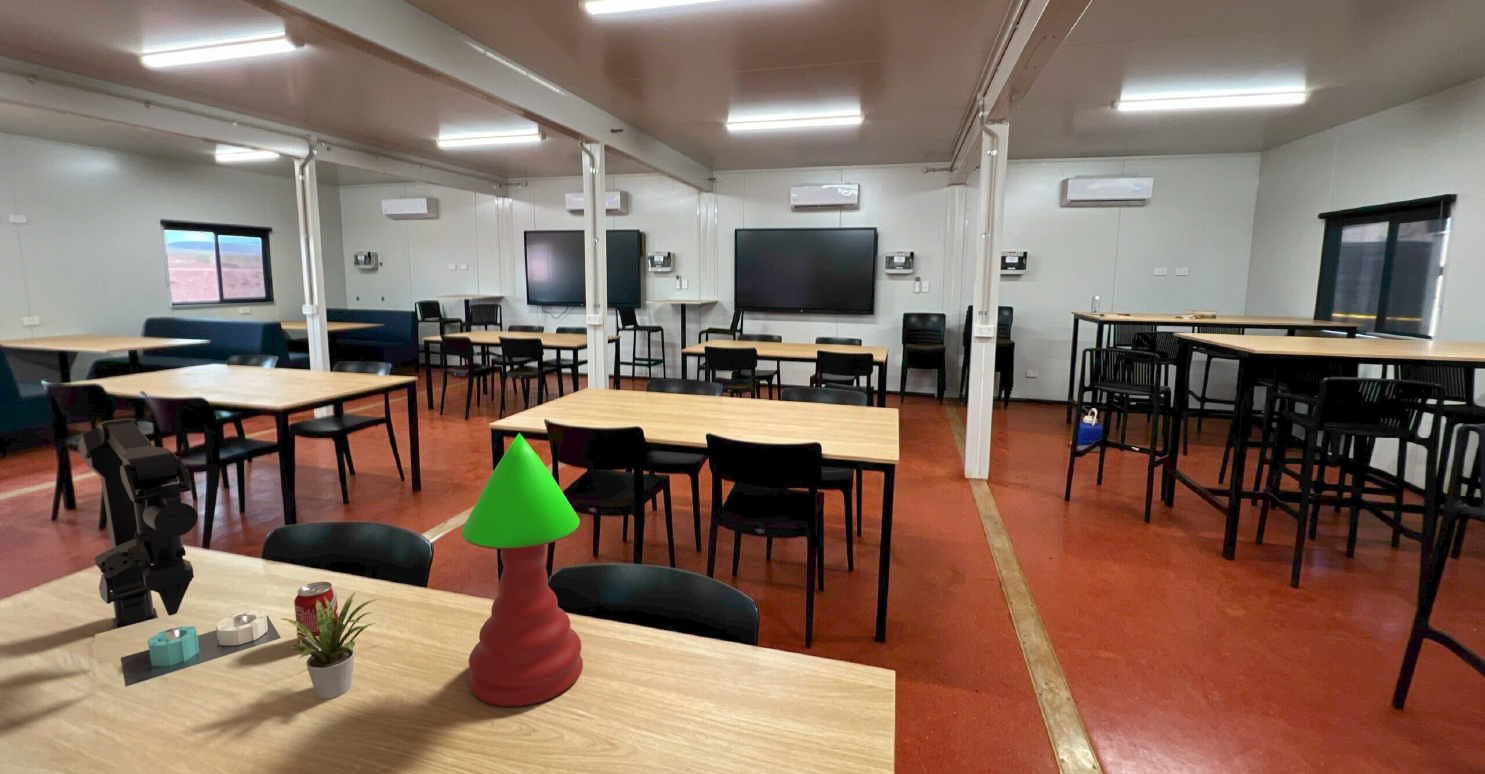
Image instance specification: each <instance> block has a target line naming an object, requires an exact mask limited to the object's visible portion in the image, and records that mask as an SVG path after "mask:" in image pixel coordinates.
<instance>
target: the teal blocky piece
mask: <svg viewBox="0 0 1485 774" xmlns="http://www.w3.org/2000/svg"><path fill="white" fill-rule="evenodd" d="M175 628H179V629H180V636H181V638H179V639H176V640H172V641H169V642H166V636H165V632H166V631H167V630H168V629H166V630H163V631H160V632H158V633H156V634H155V635H153V636H152V637H149V639H148V640H147V643H148V650H149V652H150V660H151V664H152V665H153V666H170V665H173V664H176V663H179V662H182V661H186V660H188V659H189V658H191V657H192V656H194V655H195V654H197V653H198V652H199V646H198V638H197V636H198V631H197V630H196V626H184V625H181V626H176V627H175Z"/></svg>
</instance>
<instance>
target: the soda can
mask: <svg viewBox="0 0 1485 774" xmlns="http://www.w3.org/2000/svg"><path fill="white" fill-rule="evenodd" d="M337 594H338V593H337V591H336V589H334V588H333V584H332V583H331V582H330V581H315V582H311V583H308V584H305V585H303V586H301V587H299V588H298V589H297V596H296V597H295V598H294V601H293V602H294V612H295V621H297V622H299V623H301V624H302V625H304V626H305V627H306V628H308V629H309V630H310V631H311V632H312V634H313V635H314V636H315V637H316V638H317V639H318V640H319V641H320V638H319V629H318V621H317V612H316V601H317V600H318V601H320V602H321V604H322V606H323V607H324V608H325V610H326V611H327V614H328V609H327V605H326V602H325V598H326V599H327V600H328V601H329V603H330V604H331V606H332V608H333V609H334V608H335V607H336V608H335V609H334V610H333V612H334V617H335V616H336V620H337V622H338V617H339V608H338V607H339V605H338V597H337V596H338V595H337ZM324 596H325V598H324ZM296 631H300V632H303V631H302V630H300V629H299V628H298V627H296ZM303 633H304V632H303ZM297 634H299V635H301V636H303V637H304V638H305V639H306V640H308V641H309V642H310V643H311V644H313V645H314V646H315V647H316V648H318V649H319V650H321V649H320V648H319V647H318V646H317V645H316V644H315V643H314V642H313V641H312V640H311V639H310V638H309V637H307V636H305V635H304V634H302V633H299V632H296V635H297ZM320 642H321V641H320ZM297 645H304V644H303V643H302V642H301V640H300V638H299V637H298V636H297ZM305 646H306V645H305Z"/></svg>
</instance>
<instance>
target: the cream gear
mask: <svg viewBox="0 0 1485 774" xmlns="http://www.w3.org/2000/svg"><path fill="white" fill-rule="evenodd" d="M241 614H247V616H248V624H246V625H242V626H239V627H235V617H236V616H238V615H241ZM266 616H267V615H266V614H265V611H263V610H246V611H242V612H239V613H236V614H232V615H229V616H227V617H226V616H225V618H223V619H221V620H220V621H219V622H218V623H216V624H215V630H216V632H217V640H218V641H219V645H234V646H235V645H240V644H243V643H246V642H250V641H253V640H256V639H258V638H259V637H260V636H262V635H263V634H264V633H266V632H267V630H268V628H267V618H266Z"/></svg>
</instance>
